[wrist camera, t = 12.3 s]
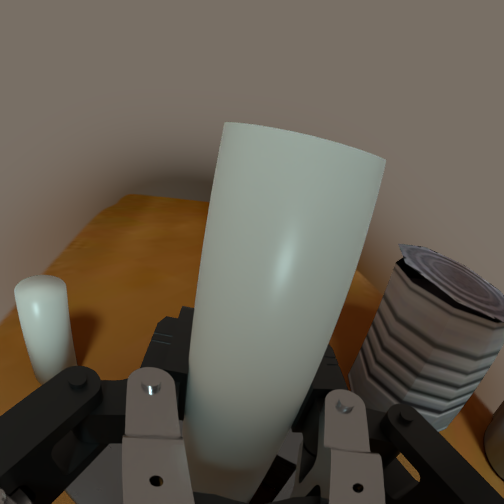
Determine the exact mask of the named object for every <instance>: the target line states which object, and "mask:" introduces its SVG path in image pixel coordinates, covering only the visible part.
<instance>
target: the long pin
mask: <svg viewBox="0 0 504 504" xmlns="http://www.w3.org/2000/svg"><path fill="white" fill-rule="evenodd" d="M385 163H386V160H385V159H383V158H381V157H378V156H376V155H373V154H370V153H368V152H365V151H362V150H359V149H356V148H353V147H350V146H347V145H344V144H340V143H337V142H333V141H330V140H326V139H322V138H318V137H314V136H310V135H306V134H301V133H297V132H292V131H288V130H282V129H277V128H271V127H266V126H258V125H252V124H244V123H233V122H225V123H224V128H223V133H222V138H221V144H220V149H219V154H218V159H217V165H216V171H215V176H214V182H213V187H212V193H211V199H210V205H209V211H208V217H207V223H206V230H205V236H204V243H203V250H202V256H201V263H200V270H199V278H198V285H197V292H196V300H195V308H194V316H193V324H192V333H191V342H190V351H189V373H188V383H187V393H186V404H185V415H184V421H183V429H182V437H183V440H184V445H185V451H186V457H187V464H188V470H189V475H190V481H191V487H192V491H193V492H200V493H208V494H216V495H219V496H222V497H226V498H229V499H233V500H236V501H240V502H244V503H248V504H249V502H250V501H251V499H252V497H253V496H254V494H255V492H256V491H257V489H258V487H259V485H260V484H261V482H262V480H263V479H264V477H265V475H266V473H267V471H268V470H269V468H270V466H271V464H272V462H273V461H274V459H275V457H276V455H277V453H278V451H279V449H280V447H281V446H282V444H283V442H284V440H285V438H286V436H287V434H288V432H289V430H290V428H291V426H292V424H293V422H294V420H295V418H296V416H297V414H298V412H299V409H300V407H301V405H302V403H303V401H304V399H305V397H306V395H307V392H308V390H309V388H310V386H311V383H312V381H313V379H314V377H315V374H316V372H317V370H318V367H319V365H320V363H321V360H322V358H323V356H324V353H325V351H326V348H327V346H328V343H329V341H330V338H331V336H332V333H333V331H334V328H335V326H336V323H337V320H338V318H339V315H340V313H341V310H342V307H343V304H344V302H345V299H346V296H347V293H348V290H349V288H350V285H351V282H352V279H353V276H354V273H355V270H356V267H357V264H358V261H359V258H360V254H361V251H362V248H363V245H364V242H365V238H366V235H367V232H368V228H369V225H370V221H371V218H372V214H373V211H374V207H375V203H376V200H377V196H378V192H379V188H380V184H381V181H382V176H383V172H384V168H385Z"/></svg>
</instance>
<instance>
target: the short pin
mask: <svg viewBox="0 0 504 504" xmlns="http://www.w3.org/2000/svg"><path fill="white" fill-rule="evenodd" d="M14 293H15V299H16V304H17V309H18V314H19V319H20V323H21V327H22V331H23V335H24V339H25V343H26V347H27V350H28V354H29V357H30V361H31V364H32V367H33V370H34V373H35V376H36V379H37V380H38V382H39V383H41V384H42V385H43V384H44V383H46V382H47V381H49V380H50V379H51V378H53V377H54V376H55V375H57V374H58V373H59V372H61V371H62V370H64V369H66V368H68V367H71V366H77V361H76V355H75V350H74V344H73V338H72V332H71V325H70V317H69V309H68V301H67V291H66V284H65V283H64V281H63V280H61V279H60V278H58V277H55V276H50V275H36V276H32V277H28V278H26V279H24V280H22V281H21V282H19V283H18V284H17V285H16V287H15V290H14Z"/></svg>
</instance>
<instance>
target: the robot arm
mask: <svg viewBox="0 0 504 504" xmlns="http://www.w3.org/2000/svg"><path fill="white" fill-rule="evenodd" d="M193 316H194V308H190V307H184V306H182V308H181V311H180V314H179V317H178V318H172V317H167V316H166V317H165V318H164V319H162V320H161V321H160V322H159V323H158V324H157V327H156V329H155V332H154V334H153V336H152V339H151V342H150V344H149V347H148V349H147V352H146V354H145V357H144V359H143V362H142V365H141V367H140V369H137V370H135V371H134V372H132V373H131V374H130V376H129V378H128V379H124V380H116V381H111V380H100V377H99V376H98V374H97V373H96V372H95V371H94V370H92V369H90V368H88V367H84V366H71V367H68V368H66V369H64V370H62V371H61V372H59V373H58V374H57V375H55V376H54V377H53V378H51V379H50V380H49V381H47V382H46V383H44V384H43V385H42V386H40V387H39V388H38V389H36V390H35V391H34V392H32V393H31V394H30V395H28V396H27V397H26V398H24V399H23V400H22V401H20V402H19V403H17V404H16V405H15V406H13V407H12V408H11V409H9V410H8V411H7V412H5V413H4V414H3V415H1V416H0V504H51V503H52V502H53V501H54V500H55V499H56V498H57V497H58V496H59V495H60V494H61V493H62V492H63V491H64V490H65V489H66V488H67V487H68V486H69V485H70V484H71V483H72V482H73V481H74V480H75V479H76V478H77V477H78V476H79V475H80V474H81V473H82V472H83V471H84V470H85V469H86V468H87V467H88V466H89V465H90V464H91V463H92V462H93V461H94V460H95V458H96V457H97V456H98V455H99V454H100V453H101V452H102V451H103V450H104V449H105V448H106V447H107V446H108V445H109V444H122V483H123V504H248V503H244V502H240V501H236V500H233V499H229V498H226V497H222V496H219V495H216V494H208V493H200V492H193V491H192V487H191V481H190V475H189V470H188V464H187V457H186V451H185V445H184V440H183V437H181V434H180V426H179V420H181V421H184V415H185V404H186V393H187V383H188V373H189V351H190V342H191V333H192V324H193ZM335 358H336V357H335V354H334V352H333V349H332V347H331V346H330V345H329V344H328V346H327V348H326V351H325V353H324V356H323V358H322V360H321V363H320V365H319V367H318V370H317V372H316V374H315V377H314V379H313V381H312V383H311V386H310V388H309V390H308V392H307V395H306V397H305V399H304V401H303V403H302V405H301V407H300V409H299V412H298V414H297V416H296V418H295V420H294V422H293V424H292V426H291V430H292V432H295V433H302V435H303V440H302V441H301V443H300V445H299V451H298V459H297V467H296V474H295V482H294V487H293V491H292V493H291V496H290V498H288V499H284V500H280V501H275V502H271V503H266V504H504V499H503V498H502V497H501V495H500V494H499V493H498V492H497V491H496V490H495V489H494V488H493V487H492V486H491V485H490V484H489V483H488V482H487V481H486V480H485V479H484V478H483V477H482V476H481V475H480V474H479V473H478V472H477V471H476V470H475V469H474V468H473V467H472V466H471V465H470V464H469V463H468V462H467V461H466V460H465V459H464V458H463V457H462V456H461V455H460V454H459V453H458V452H457V451H456V450H455V449H454V448H453V447H452V446H451V445H450V443H449V442H448V441H447V440H446V439H445V438H444V437H443V436H442V435H441V434H440V433H439V432H438V431H437V430H436V429H435V428H434V427H433V426H432V425H431V424H430V423H429V422H428V421H427V420H426V419H425V418H424V417H423V416H422V415H421V414H420V413H419V412H418V411H417V410H416V409H414V408H413V407H411V406H409V405H406V404H394V405H392V406H391V407H390V408H389V410H388V411H387V412H381V411H377V410H372V409H369V408H366V407H365V404H364V402H363V400H362V399H361V398H360V397H359V396H358V395H356V394H355V393H353V392H351V391H348V388H347V385H346V383H345V380H344V377H343V375H342V372H341V370H340V367H339V366H338V362H337V359H335ZM484 446H485V451H486V454H487V457H488V459H489V462H490V463H491V465H492V467H493V469H494V470H495V471H496V472H497V474H498V475H499V476H500V477H501V478H502V479H504V401H503V402H502V404H501V405H500V406H499V408H498V409H497V410H496V411H495V413H494V414H493V421H492V422H491V423H490V424H489V426H488V427H487V429H486V431H485V436H484ZM400 452H401V453H402V454H403V455H404V457H405V458H406V459H407V460H408V461H409V462H410V463H411V464H412V466H413V467H414V468H415V469H416V470H417V471H418V473H419V474H420V482H418V481H416V480H415V479H414V478H413V477H412V476H411V474H410V473H409V472H408V471H407V470H406V469H405V468H404V466H403V465H402V464H401V463H400V462H399V461H398V459H397V458H396V457H397V456H398V455H399V454H400Z"/></svg>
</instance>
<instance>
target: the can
mask: <svg viewBox="0 0 504 504" xmlns="http://www.w3.org/2000/svg"><path fill="white" fill-rule="evenodd" d="M399 247H400V250H401V252H402V255H403V258H402V259H400V260H399V261H397V262H396V263H395V266H394V269H393V272H392V274H391V277H390V280H389V283H388V285H387V288H386V290H385V293H384V295H383V298H382V301H381V303H380V306H379V308H378V310H377V313H376V315H375V318H374V320H373V322H372V325H371V327H370V329H369V332H368V334H367V336H366V338H365V340H364V343H363V345H362V347H361V349H360V351H359V353H358V356H357V358H356V360H355V362H354V364H353V366H352V368H351V370H350V372H349V374H348V378H349V383H350V388H351V392H353V393H355V394H356V395H358V396H359V397H360V398H361V399H362V400H363V402H364V404H365V407H366V408H369V409H372V410H377V411H381V412H387V411H388V410H389V408H390V407H391V406H392V405H394V404H406V405H409V406H411V407H413V408H414V409H416V410H417V411H418V412H419V413H420V414H421V415H422V416H423V417H424V418H425V419H426V420H427V421H428V422H429V423H430V424H431V425H432V426H433V427H434V428H435V429H436V430H437V431H438V432H439V431H441V430H444V429H446V427H447V426H448V425H449V424H450V423H451V421H452V420H453V419H454V418H455V416H456V415H457V414H458V412H459V411H460V410H461V409H462V407H463V406H464V405H465V403H466V402H467V400H468V399H469V398H470V396H471V395H472V394H473V392H474V391H475V389H476V388H477V386H478V385H479V383H480V382H481V380H482V379H483V377H484V376H485V374H486V372H487V371H488V370H489V368H490V366H491V365H492V363H493V361H494V360H495V358H496V356H497V355H498V353H499V351H500V349H501V348H502V346H503V344H504V295H503V294H502V293H501V291H500V290H498V289H497V288H496V287H494V286H493V285H491V284H490V283H489V282H487V281H486V280H485V279H483V278H482V277H480V276H479V275H478V274H476V273H475V272H473V271H472V270H470V269H469V268H468V267H466V266H465V265H462V264H461V263H459V262H456V261H454V260H452V259H450V258H448V257H445V256H443V255H441V254H439V253H437V252H435V251H433V250H431V249H428V248H426V247H421V246H413V245H405V244H399Z"/></svg>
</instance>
